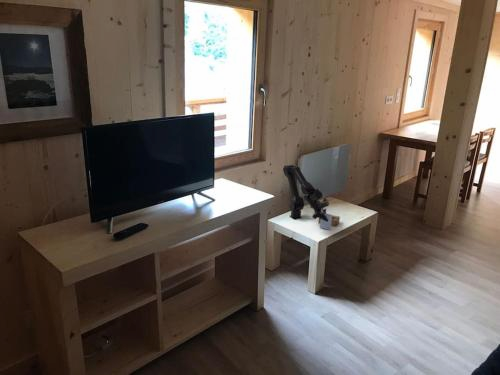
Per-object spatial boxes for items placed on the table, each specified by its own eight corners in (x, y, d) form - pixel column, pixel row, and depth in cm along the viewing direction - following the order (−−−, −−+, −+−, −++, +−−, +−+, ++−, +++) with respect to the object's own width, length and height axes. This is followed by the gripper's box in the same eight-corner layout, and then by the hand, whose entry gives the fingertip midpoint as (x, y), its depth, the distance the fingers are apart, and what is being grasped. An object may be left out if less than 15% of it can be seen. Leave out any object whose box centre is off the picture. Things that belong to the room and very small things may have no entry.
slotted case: (318, 223, 287) (318, 217, 285) (321, 219, 294) (321, 213, 292) (336, 226, 282) (337, 220, 280) (339, 222, 289) (339, 216, 287)
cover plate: (319, 227, 278) (321, 213, 275) (320, 226, 280) (321, 212, 277) (330, 229, 276) (331, 215, 272) (330, 228, 278) (332, 214, 274)
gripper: (319, 200, 264) (334, 219, 263) (325, 191, 280) (340, 209, 280) (306, 209, 269) (321, 228, 269) (313, 200, 285) (327, 217, 285)
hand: (328, 220), depth 276 cm, fingers closed on cover plate, 2 cm apart
